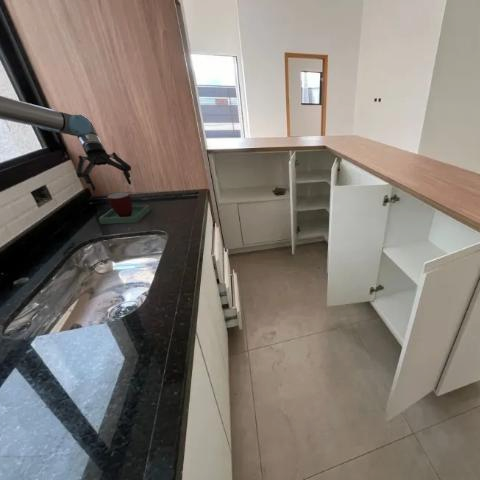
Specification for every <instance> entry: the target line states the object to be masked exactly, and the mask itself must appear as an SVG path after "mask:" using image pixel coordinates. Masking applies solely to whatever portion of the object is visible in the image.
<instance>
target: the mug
mask: <svg viewBox="0 0 480 480" xmlns="http://www.w3.org/2000/svg"><path fill="white" fill-rule="evenodd" d="M106 197H107V200H108V203H109V205H110V207H111V209H113V210H114V211H115V213H116V214H117V215H118V216H120V217H130V216H131V214H132V206H133V201H132V197H131V194H130V193H129V192H116V193H111V194H109V195H108V196H106Z"/></svg>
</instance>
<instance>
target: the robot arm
mask: <svg viewBox="0 0 480 480" xmlns="http://www.w3.org/2000/svg"><path fill="white" fill-rule="evenodd" d="M82 115H83V114H70V113H66V112H62V111H58V110H56V109H52V108H47V107H44V106H40V105H36V104H32V103H29V102H26V101H21V100H17V99H13V98H10V97H6V96H2V95H0V120H4V121H8V122H13V123H18V124H23V125H28V126H33V127H37V128H39V129H40V130H43V131H48V132H53V133H59V134H64V135H69V136H73V137H76V138H77V139H78V141H79V143H80V145H81V147H82V149H83V152H84V154H85V155H86V156H82V155H78V165H77V168H76V171H75V172H76V177H77V178H79V179H80V178H83V180H84V182H85V183H86V184H88V185H90V187H91V189H92V191H96V187H95V185H94V183H93V181H92V178H91V176H90V173H91V172H92V170H93V169H94V168H95V167H96V166H106V165H108V166H112V167H114V168H116V169H118V170H120V171H121V172H122V174H123V176H124V178H125V180H126V182H127V184H128V185H129V186H131V185H132V181H131V179H130V178H131V173H130V172H131V171H132V166H131V165H130V164H128V163H127V162H126V161H125V160H124V159H122V157H120V156H118V155H117V153H116V152H111V154H109V153H108V152H107V151H106V149H105V146H104V145H103V143H102V140H101V138H100V137H99V135H98V133H97V131H96V129H95V127H93V126H94V124H93V122H92V121H91V120H90V119H89V118H88V117H87V118H88V119H89V120H90V121H91V122H90V121H89V120H88V119H87V118H85V117H84V116H85V115H84V116H82ZM92 124H93V125H92ZM86 161H87V162H89V163H88V164H87V166H86V167H85V168H84V165H85V163H86Z"/></svg>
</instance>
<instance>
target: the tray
mask: <svg viewBox="0 0 480 480" xmlns="http://www.w3.org/2000/svg"><path fill="white" fill-rule="evenodd" d="M150 211H151V208H150V205H148V204H145V205H141V204H140V205H139V204H138V205H132V214H131V216H130V217H120V216H118V215H117V214H116V213H115V211H114V210H113V208H110V209H109V210H108V211H107V212H105V213H104V214H103V215H101V216H100V217H99V218H98V221H99V224H100V225H111V224H132V223H133V224H134V223H136V224H137V223H139V222H140V221H141V220H142V219H143V218H144V217H145V216H146V215H147V214H148V213H149V212H150Z"/></svg>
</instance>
